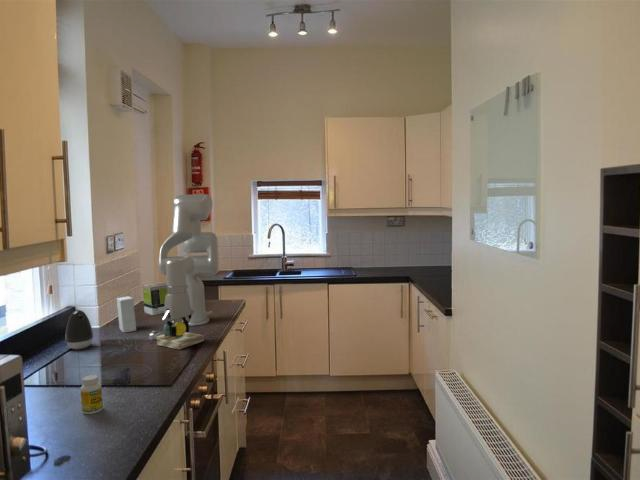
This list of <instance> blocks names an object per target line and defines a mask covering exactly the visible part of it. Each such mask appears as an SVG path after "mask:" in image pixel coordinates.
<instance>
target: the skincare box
mask: <svg viewBox="0 0 640 480" xmlns="http://www.w3.org/2000/svg"><path fill="white" fill-rule="evenodd" d="M134 303H135V302H134V298H133V297H131V296H129V295H127V296H122V297H117V298H116V307H117V316H118V325H119V326H118V327H119V330H120V331H121V332H122V333H130V332H136V331H137V324H136V314H135V304H134Z"/></svg>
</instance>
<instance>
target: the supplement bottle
mask: <svg viewBox="0 0 640 480" xmlns="http://www.w3.org/2000/svg"><path fill="white" fill-rule="evenodd" d="M81 381H82V385H81V386H80V401H81V409H82V410H81V411H82V413H83V414H84V415H94V414H96V413H97V414H98V413H99V412H101V411H103V408H104V406H103V405H104V403H103V390H102V384H101V383H100V382H99V376H98V375H96V374H90V375H86V376H84V377H83V378H82V379H81Z"/></svg>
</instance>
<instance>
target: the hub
mask: <svg viewBox="0 0 640 480" xmlns="http://www.w3.org/2000/svg"><path fill="white" fill-rule="evenodd" d="M160 335H162V332H161V331H159V330H158V329H155V330H151V331H150V332H149V333H148V340H149V341H157V336H160Z"/></svg>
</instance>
